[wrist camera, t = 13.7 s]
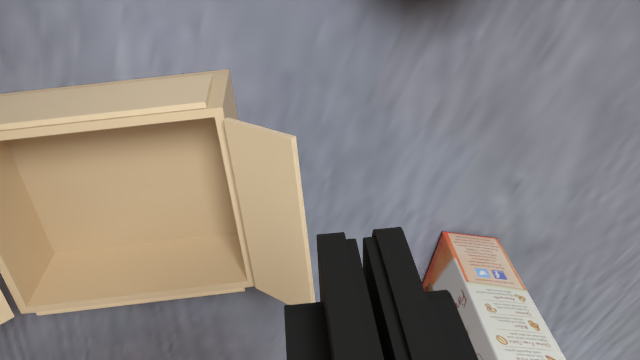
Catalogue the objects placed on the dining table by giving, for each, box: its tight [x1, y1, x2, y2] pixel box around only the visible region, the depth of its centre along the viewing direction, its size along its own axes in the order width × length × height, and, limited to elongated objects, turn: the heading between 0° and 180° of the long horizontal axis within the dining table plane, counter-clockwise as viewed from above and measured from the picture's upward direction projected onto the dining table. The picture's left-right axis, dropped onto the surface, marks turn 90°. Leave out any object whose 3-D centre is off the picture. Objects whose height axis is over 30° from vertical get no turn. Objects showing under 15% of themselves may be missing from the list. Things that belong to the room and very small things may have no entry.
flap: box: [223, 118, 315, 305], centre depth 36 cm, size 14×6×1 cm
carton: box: [0, 69, 255, 316], centre depth 41 cm, size 16×18×7 cm
